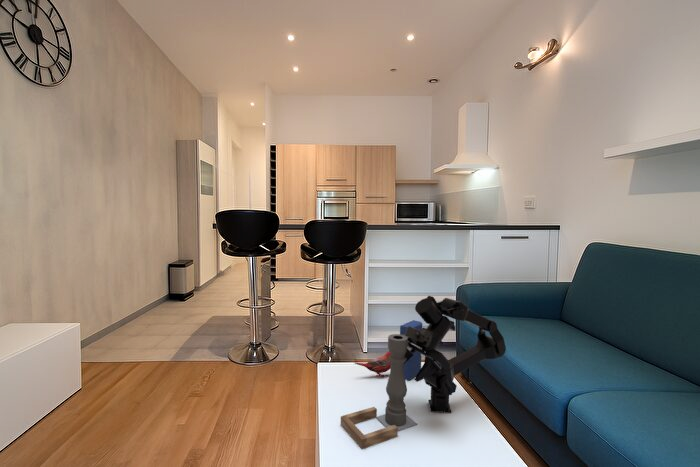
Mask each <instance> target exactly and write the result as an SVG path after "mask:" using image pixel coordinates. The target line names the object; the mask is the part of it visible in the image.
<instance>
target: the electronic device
mask: <svg viewBox="0 0 700 467" xmlns="http://www.w3.org/2000/svg"><path fill="white" fill-rule="evenodd" d="M408 326H410V327H412V328H415V329H417V330H421V329H422V328H423V322H422V321H418V320H415V319H413V320H411V321H408V322H406V323H403V324H402V325H400V326H399V334H400V335H402V334H404V335H405V334H406V331H407V328H408ZM412 340H413V339H412ZM415 343H416V342H415ZM419 350H421V349H419ZM411 353H412V352H411ZM412 354H413V356H412V357H411V358H410V359H409V360H408V361H407V362H406V363H405V364H404V377H405V381H410V380H411V379H413V378H415V377H416V376H417V374H418V372H419V371H420V369H421V368H422V354H421V353H419V352H417V351H416V352H414V353H412Z"/></svg>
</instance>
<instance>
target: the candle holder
mask: <svg viewBox="0 0 700 467" xmlns="http://www.w3.org/2000/svg"><path fill="white" fill-rule="evenodd" d="M407 347H408V338H407V337H406V336H404V335H400V333H397V334H396V333H395V334H394V333H393V334H390V335H388V336H387V348H388V352H390V354H391V355H390V356H389V357H388V359H389V361H390V362H391V368H390V369H389V371H390V372H389V374H388V380H387V384H386V386H385V391H386V395H387V396H388V401H386V407H385V413H384V414H385V421H386V423H387V424H389V425H391V426H392V425H396V426H397V427H400V426H403V425H405V424H406V415H407V413H408V412H407V408H406V407H407V405H406V403H405V401H404V400H405V397H406V396H407V392H408V387H407V382H406V380H405V377H404V362H406V357H405V356H404V355H405V353H406V350H407Z"/></svg>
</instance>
